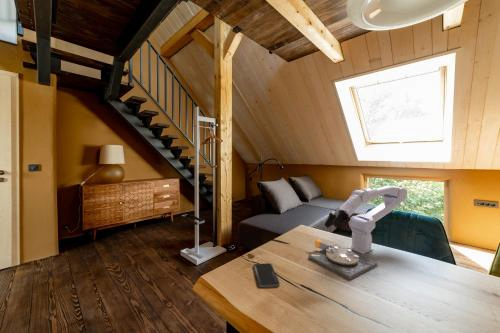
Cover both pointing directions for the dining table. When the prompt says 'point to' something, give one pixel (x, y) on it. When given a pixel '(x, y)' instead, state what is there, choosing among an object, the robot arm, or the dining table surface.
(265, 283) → the phone
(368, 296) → the dining table surface
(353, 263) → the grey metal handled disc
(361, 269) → the base plate
